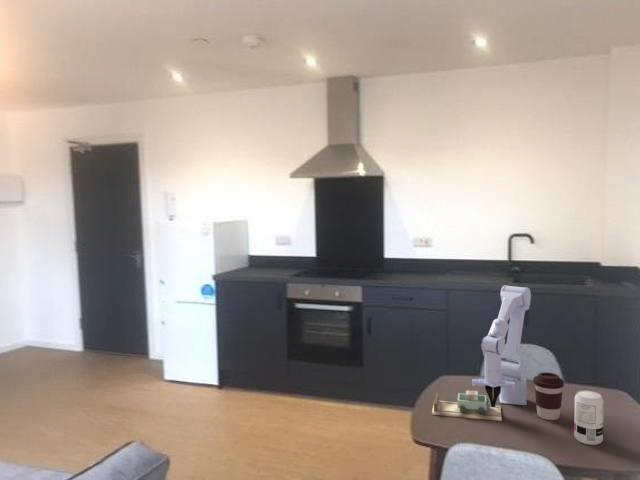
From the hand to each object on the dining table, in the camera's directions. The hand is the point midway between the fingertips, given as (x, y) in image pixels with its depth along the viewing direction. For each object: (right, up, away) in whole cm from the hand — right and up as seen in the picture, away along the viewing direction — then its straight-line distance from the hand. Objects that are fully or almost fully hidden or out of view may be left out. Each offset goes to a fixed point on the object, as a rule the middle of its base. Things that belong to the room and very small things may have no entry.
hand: (493, 406), depth 189 cm
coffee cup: (+19, -3, -3) cm, 19 cm away
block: (-7, 0, +2) cm, 7 cm away
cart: (-6, -1, +2) cm, 7 cm away
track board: (-9, -3, +3) cm, 10 cm away
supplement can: (+23, -4, -21) cm, 32 cm away
